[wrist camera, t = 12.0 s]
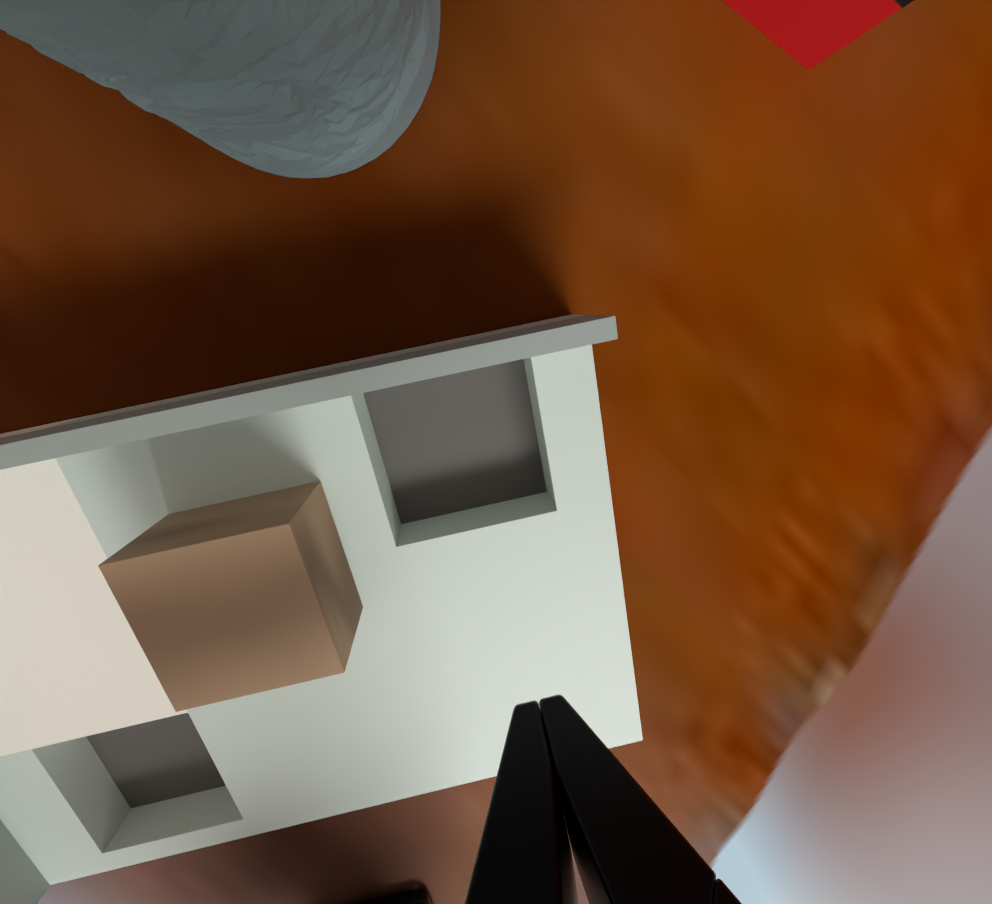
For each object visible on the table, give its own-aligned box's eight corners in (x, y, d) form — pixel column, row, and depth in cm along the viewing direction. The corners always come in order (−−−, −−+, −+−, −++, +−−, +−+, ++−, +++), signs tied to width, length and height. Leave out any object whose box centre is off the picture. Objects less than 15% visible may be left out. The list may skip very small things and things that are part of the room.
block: (363, 606, 17) (344, 672, 14) (225, 638, 17) (175, 712, 14) (320, 480, 15) (289, 523, 12) (168, 514, 15) (98, 565, 12)
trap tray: (625, 702, 22) (668, 797, 18) (72, 836, 21) (-24, 971, 17) (571, 314, 16) (615, 315, 12) (-182, 471, 16) (-422, 533, 11)
